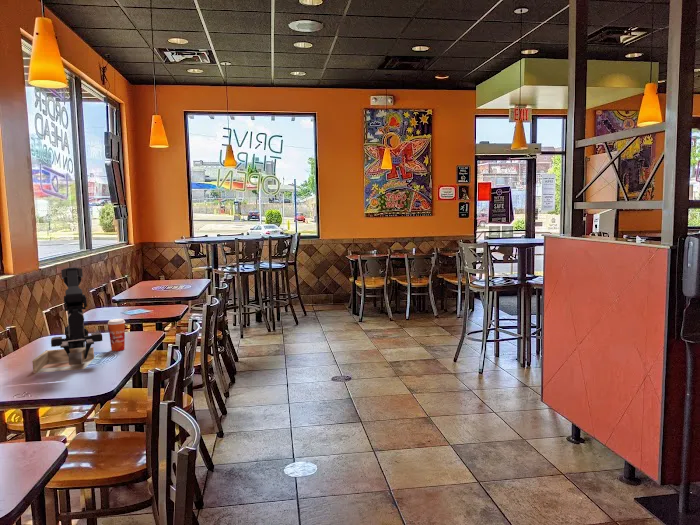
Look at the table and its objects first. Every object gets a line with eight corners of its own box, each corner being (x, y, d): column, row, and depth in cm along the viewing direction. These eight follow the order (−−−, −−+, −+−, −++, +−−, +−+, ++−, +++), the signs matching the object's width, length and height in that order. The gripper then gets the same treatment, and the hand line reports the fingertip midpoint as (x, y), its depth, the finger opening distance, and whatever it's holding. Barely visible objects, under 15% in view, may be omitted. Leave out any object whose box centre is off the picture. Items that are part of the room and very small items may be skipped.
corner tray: (94, 359, 232) (93, 347, 232) (84, 370, 216) (83, 357, 215) (47, 362, 228) (46, 350, 228) (33, 374, 212) (32, 360, 211)
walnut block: (87, 357, 226) (86, 347, 226) (81, 364, 216) (80, 352, 216) (75, 358, 225) (75, 348, 225) (69, 365, 215) (68, 353, 215)
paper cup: (109, 352, 244) (107, 322, 243) (108, 348, 251) (106, 319, 249) (128, 350, 247) (126, 320, 246) (126, 346, 254) (124, 317, 253)
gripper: (99, 317, 231) (101, 352, 232) (50, 321, 222) (52, 358, 223) (101, 321, 221) (103, 358, 222) (49, 326, 212) (52, 364, 214)
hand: (78, 359), depth 221 cm, fingers closed on walnut block, 5 cm apart
